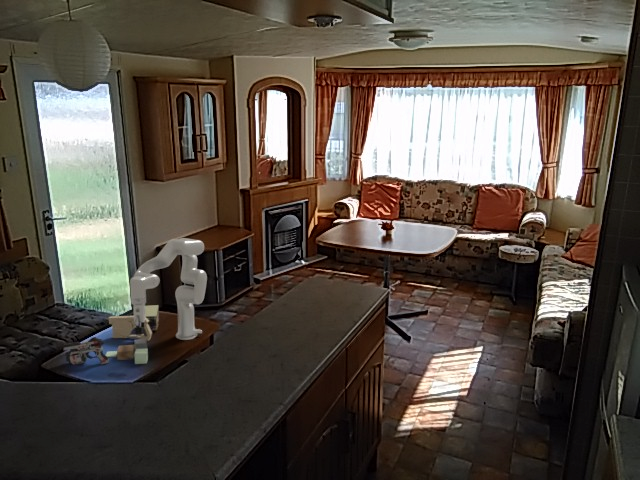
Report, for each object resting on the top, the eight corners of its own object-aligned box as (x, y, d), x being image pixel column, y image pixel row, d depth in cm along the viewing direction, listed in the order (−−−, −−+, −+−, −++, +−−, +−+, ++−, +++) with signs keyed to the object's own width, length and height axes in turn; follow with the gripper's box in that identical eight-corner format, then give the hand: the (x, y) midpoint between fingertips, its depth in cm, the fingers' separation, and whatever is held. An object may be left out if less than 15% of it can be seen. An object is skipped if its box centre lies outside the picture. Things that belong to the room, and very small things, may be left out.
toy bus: (140, 333, 318) (139, 317, 316) (143, 320, 340) (143, 305, 339) (157, 331, 321) (157, 316, 319) (159, 319, 343) (159, 304, 341)
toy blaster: (70, 367, 281) (63, 341, 277) (110, 360, 281) (103, 334, 278) (68, 370, 277) (60, 344, 273) (108, 363, 278) (101, 337, 274)
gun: (153, 338, 311) (150, 315, 308) (150, 341, 308) (147, 317, 305) (114, 339, 314) (110, 315, 311) (111, 341, 311) (107, 317, 307)
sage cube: (148, 358, 287) (147, 348, 285) (146, 363, 281) (146, 353, 280) (136, 359, 286) (136, 348, 284) (135, 364, 280) (134, 353, 278)
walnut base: (134, 353, 293) (134, 344, 292) (133, 359, 285) (132, 350, 284) (119, 354, 291) (118, 345, 290) (117, 360, 283) (117, 351, 282)
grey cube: (145, 348, 299) (145, 338, 298) (147, 352, 294) (146, 342, 293) (134, 349, 297) (134, 339, 295) (136, 354, 291) (135, 344, 290)
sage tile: (118, 352, 293) (118, 351, 293) (116, 356, 287) (116, 355, 287) (107, 352, 292) (107, 351, 292) (105, 357, 286) (104, 356, 286)
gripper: (143, 305, 268) (145, 336, 271) (148, 294, 284) (149, 324, 288) (128, 305, 266) (129, 337, 270) (133, 294, 283) (134, 324, 287)
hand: (139, 330), depth 279 cm, fingers open, 9 cm apart
